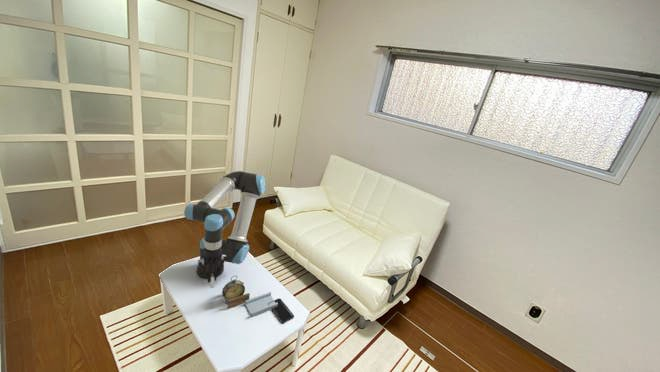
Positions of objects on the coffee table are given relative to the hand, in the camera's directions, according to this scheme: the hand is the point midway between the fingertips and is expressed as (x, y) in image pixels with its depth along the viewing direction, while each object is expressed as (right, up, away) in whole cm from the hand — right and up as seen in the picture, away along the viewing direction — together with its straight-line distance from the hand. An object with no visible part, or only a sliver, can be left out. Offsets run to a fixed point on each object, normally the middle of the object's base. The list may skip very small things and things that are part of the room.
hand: (211, 286), depth 132 cm
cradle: (+22, -15, +12) cm, 29 cm away
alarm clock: (+6, -12, +12) cm, 18 cm away
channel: (+7, -12, +13) cm, 19 cm away
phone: (+32, -18, +11) cm, 39 cm away
